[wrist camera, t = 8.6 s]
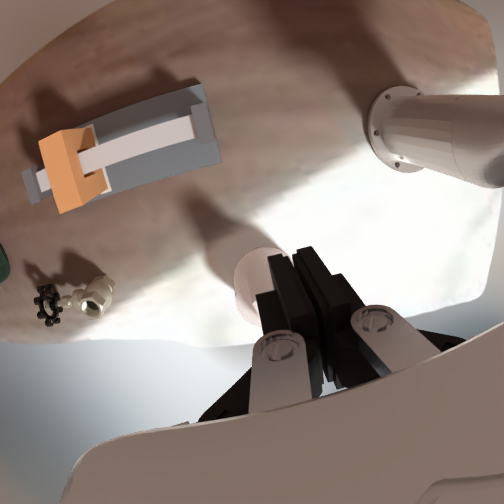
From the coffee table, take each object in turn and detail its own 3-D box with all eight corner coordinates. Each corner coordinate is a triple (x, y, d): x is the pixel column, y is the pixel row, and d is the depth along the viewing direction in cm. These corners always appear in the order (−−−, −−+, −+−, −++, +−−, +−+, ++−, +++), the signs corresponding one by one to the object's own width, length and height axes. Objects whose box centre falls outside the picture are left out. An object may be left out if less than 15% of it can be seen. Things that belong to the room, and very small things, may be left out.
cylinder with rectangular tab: (304, 287, 46) (329, 337, 35) (249, 312, 46) (259, 367, 35) (282, 236, 42) (305, 277, 31) (222, 263, 43) (224, 313, 32)
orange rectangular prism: (90, 127, 31) (60, 130, 24) (108, 188, 34) (82, 205, 27) (70, 136, 31) (38, 141, 24) (88, 195, 34) (59, 213, 27)
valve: (109, 262, 41) (46, 276, 41) (93, 284, 35) (27, 298, 35) (124, 301, 44) (63, 311, 43) (112, 327, 38) (47, 335, 37)
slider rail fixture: (203, 85, 33) (199, 73, 25) (221, 161, 37) (222, 170, 30) (49, 141, 33) (14, 148, 25) (69, 208, 37) (39, 228, 29)
